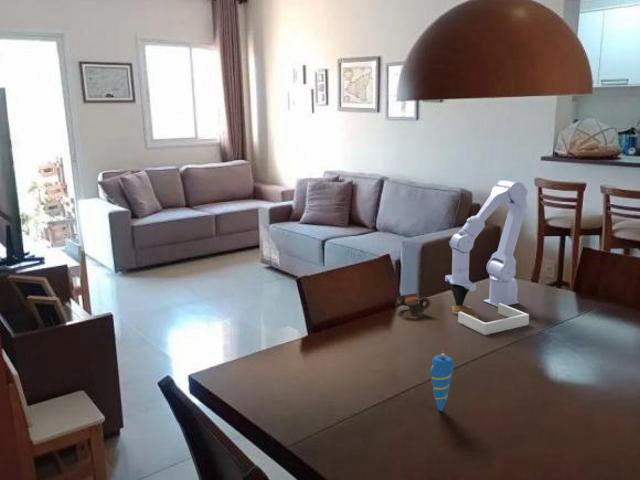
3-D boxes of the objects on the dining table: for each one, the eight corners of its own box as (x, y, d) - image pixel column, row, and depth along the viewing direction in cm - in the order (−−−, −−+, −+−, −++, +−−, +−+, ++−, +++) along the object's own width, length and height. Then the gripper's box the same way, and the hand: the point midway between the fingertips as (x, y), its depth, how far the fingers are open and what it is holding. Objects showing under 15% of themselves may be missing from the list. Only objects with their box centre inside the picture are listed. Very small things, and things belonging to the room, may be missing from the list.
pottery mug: (397, 320, 193) (392, 296, 195) (401, 323, 202) (396, 300, 204) (432, 312, 191) (426, 288, 193) (434, 315, 199) (429, 293, 202)
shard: (478, 320, 190) (478, 315, 189) (455, 321, 190) (455, 316, 190) (470, 309, 200) (471, 304, 200) (449, 310, 201) (449, 305, 200)
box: (500, 312, 196) (500, 303, 195) (528, 324, 184) (529, 314, 184) (458, 321, 188) (458, 311, 188) (484, 335, 177) (485, 324, 176)
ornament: (436, 403, 137) (437, 344, 133) (456, 409, 133) (458, 350, 130) (425, 412, 133) (426, 352, 129) (446, 419, 129) (447, 357, 126)
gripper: (438, 264, 203) (437, 301, 206) (464, 274, 190) (463, 313, 193) (454, 262, 206) (453, 298, 209) (481, 271, 193) (480, 309, 196)
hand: (459, 305), depth 201 cm, fingers closed
